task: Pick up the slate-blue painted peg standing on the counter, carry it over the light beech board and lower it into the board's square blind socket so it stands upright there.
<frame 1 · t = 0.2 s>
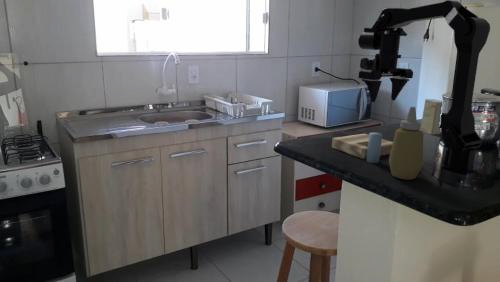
hand: (383, 101, 132), 14 cm above the countertop, tool pointing down, fingers open, 9 cm apart
peg: (372, 161, 118), on the countertop
board: (366, 153, 125), on the countertop
skincare box: (430, 133, 155), on the countertop
squeeze bottle: (403, 177, 107), on the countertop
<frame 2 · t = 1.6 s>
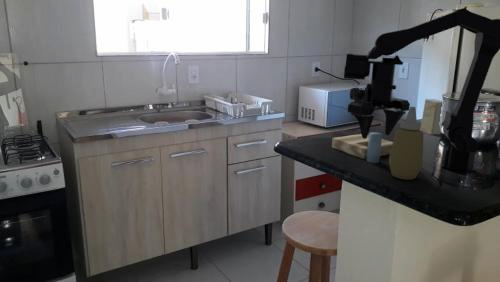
hand: (375, 136, 116), 7 cm above the countertop, tool pointing down, fingers open, 9 cm apart
nothing on the countertop moved.
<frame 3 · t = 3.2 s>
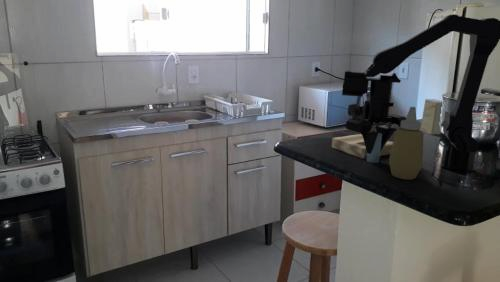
hand: (373, 152, 118), 3 cm above the countertop, tool pointing down, fingers closed on peg, 3 cm apart
peg: (372, 161, 118), on the countertop, touching gripper
everything else where it was.
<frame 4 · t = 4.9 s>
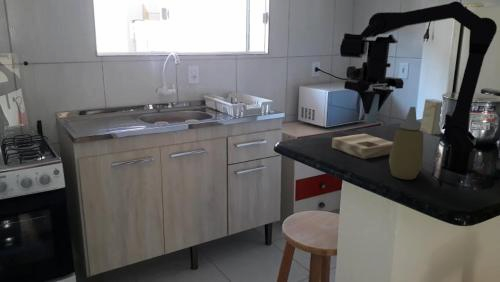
hand: (371, 113, 122), 12 cm above the countertop, tool pointing down, fingers closed on peg, 3 cm apart
peg: (370, 121, 123), point 10 cm above the countertop, touching gripper
everything else where it was.
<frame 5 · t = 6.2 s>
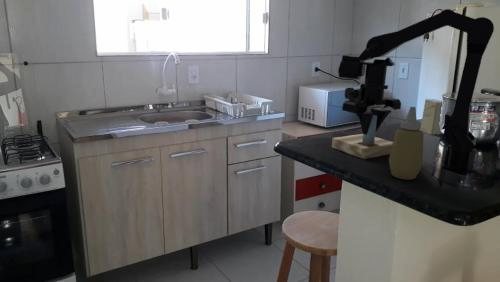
hand: (369, 133, 124), 6 cm above the countertop, tool pointing down, fingers closed on peg, 3 cm apart
peg: (368, 141, 124), point 4 cm above the countertop, touching gripper
everything else where it was.
when the fingers open (4 cm above the countertop, at t = 7.0 s): peg drops 1 cm, resting on board.
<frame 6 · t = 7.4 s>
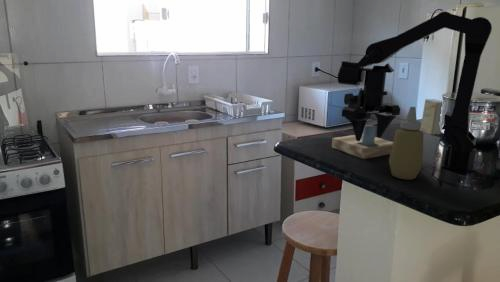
hand: (368, 139, 124), 4 cm above the countertop, tool pointing down, fingers open, 8 cm apart
peg: (367, 152, 125), point 1 cm above the countertop, touching board
everything else where it was.
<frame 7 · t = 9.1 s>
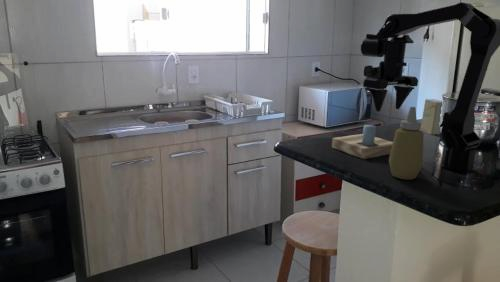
hand: (387, 110, 128), 12 cm above the countertop, tool pointing down, fingers open, 9 cm apart
nothing on the countertop moved.
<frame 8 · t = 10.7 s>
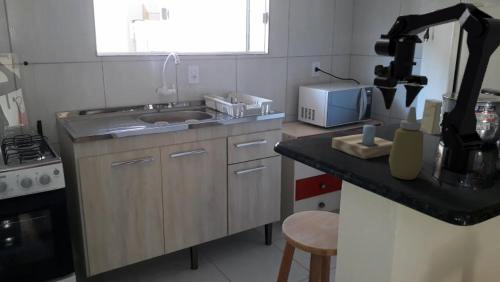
hand: (397, 108, 131), 12 cm above the countertop, tool pointing down, fingers open, 9 cm apart
nothing on the countertop moved.
at the end: peg 0.0 cm off-centre on the board, point 0.5 cm above the board's base; peg tilted 0°; the gripper is holding nothing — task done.
